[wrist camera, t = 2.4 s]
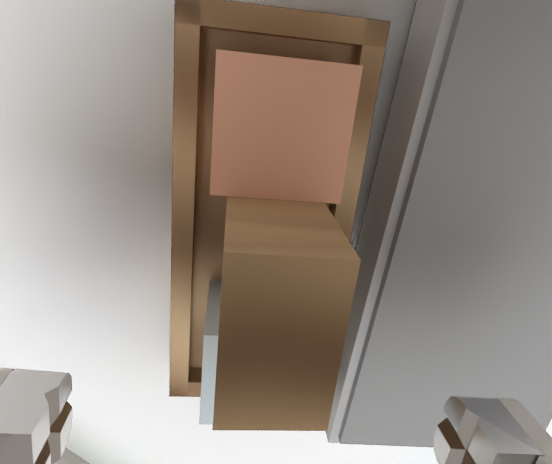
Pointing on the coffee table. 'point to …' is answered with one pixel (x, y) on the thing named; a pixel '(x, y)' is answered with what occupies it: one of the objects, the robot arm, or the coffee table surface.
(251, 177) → the block
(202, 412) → the pale blue cube
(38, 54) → the coffee table surface
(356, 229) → the coffee table surface
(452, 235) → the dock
